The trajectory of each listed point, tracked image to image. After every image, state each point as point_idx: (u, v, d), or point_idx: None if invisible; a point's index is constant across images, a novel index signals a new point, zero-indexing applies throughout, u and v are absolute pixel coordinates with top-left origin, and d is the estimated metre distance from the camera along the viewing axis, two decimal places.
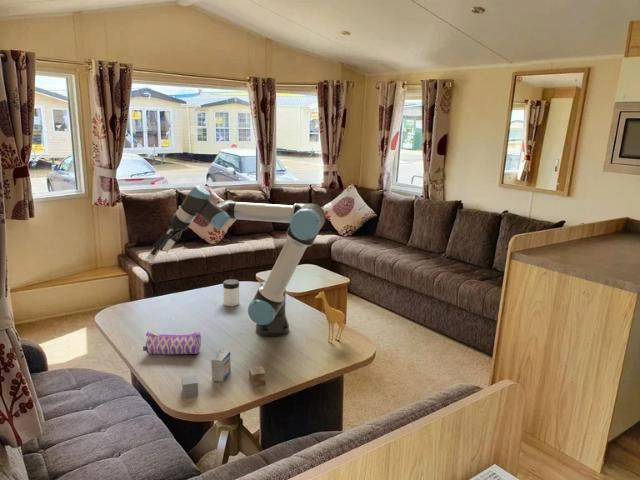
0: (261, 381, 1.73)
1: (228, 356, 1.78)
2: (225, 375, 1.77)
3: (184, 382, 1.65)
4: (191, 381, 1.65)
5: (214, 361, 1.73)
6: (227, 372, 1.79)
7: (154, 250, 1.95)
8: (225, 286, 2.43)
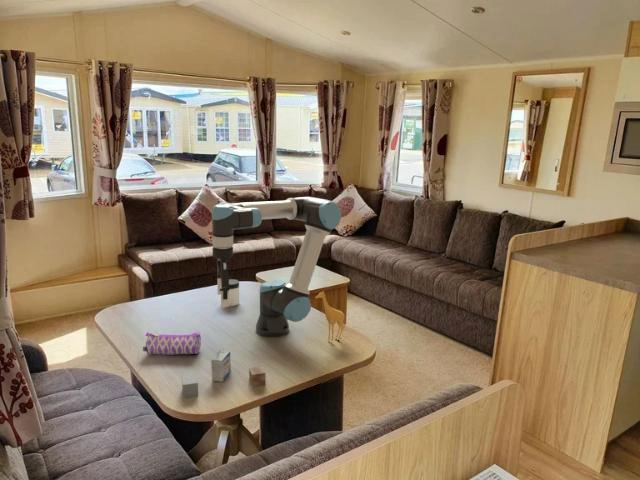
0: (261, 381, 1.73)
1: (228, 356, 1.78)
2: (225, 375, 1.77)
3: (184, 382, 1.65)
4: (191, 381, 1.65)
5: (214, 361, 1.73)
6: (227, 372, 1.79)
7: (225, 293, 1.72)
8: None
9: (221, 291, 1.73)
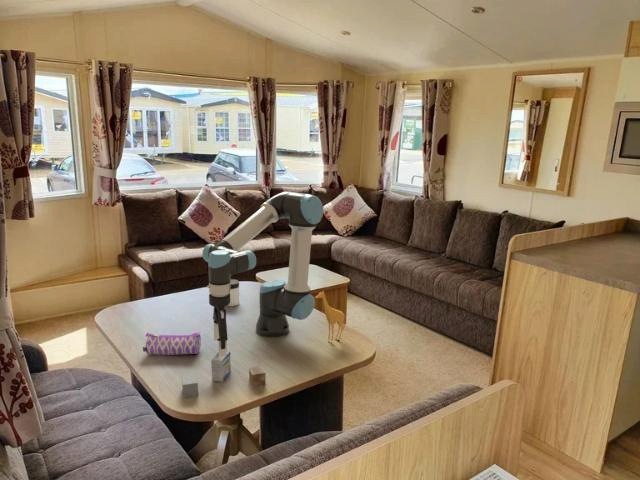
0: (261, 381, 1.73)
1: (228, 356, 1.78)
2: (225, 375, 1.77)
3: (184, 382, 1.65)
4: (191, 381, 1.65)
5: (214, 361, 1.73)
6: (227, 372, 1.79)
7: (223, 343, 1.67)
8: None
9: (219, 341, 1.67)
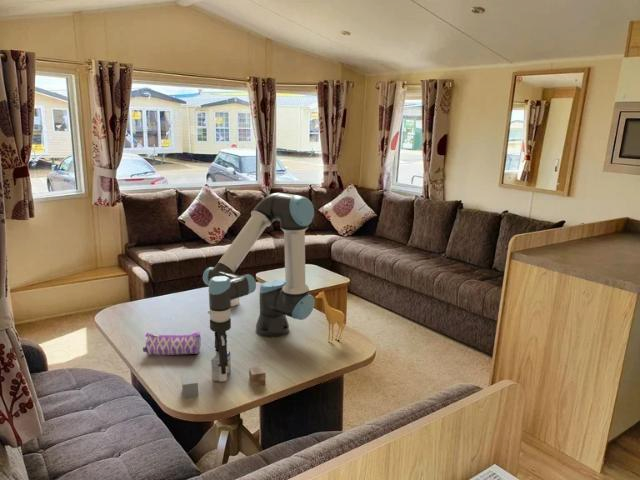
0: (261, 381, 1.73)
1: (228, 356, 1.78)
2: None
3: (184, 382, 1.65)
4: (191, 381, 1.65)
5: (214, 361, 1.73)
6: (227, 372, 1.78)
7: (223, 368, 1.72)
8: None
9: (219, 366, 1.72)
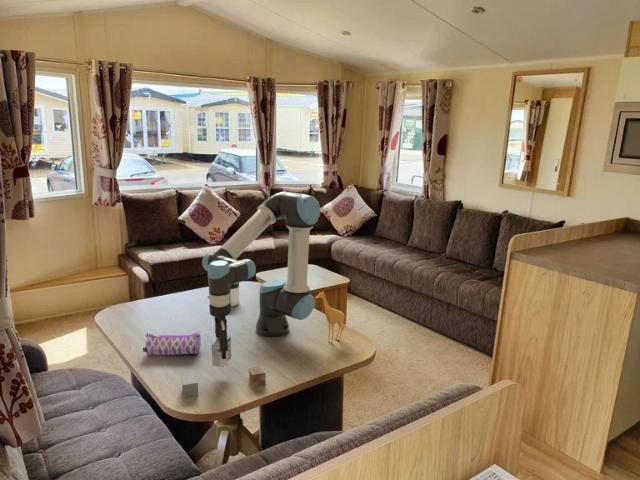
0: (261, 381, 1.73)
1: (228, 341, 1.77)
2: None
3: (184, 382, 1.65)
4: (191, 381, 1.65)
5: (214, 346, 1.72)
6: (228, 357, 1.77)
7: (223, 353, 1.70)
8: None
9: (219, 351, 1.71)
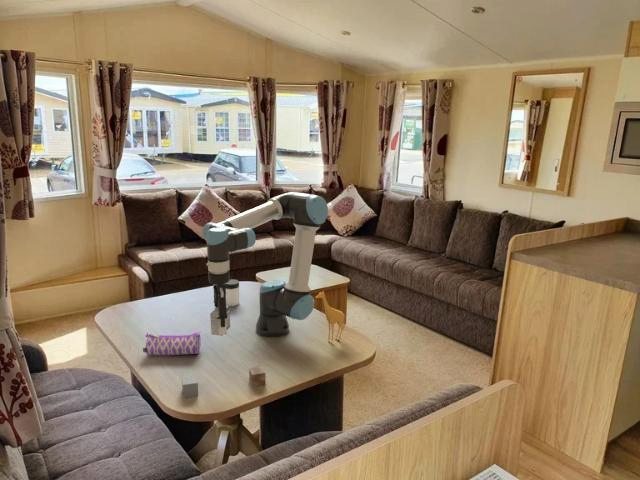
0: (261, 381, 1.73)
1: (227, 310, 1.75)
2: None
3: (184, 382, 1.65)
4: (191, 381, 1.65)
5: (213, 314, 1.70)
6: (226, 326, 1.76)
7: (222, 321, 1.69)
8: (225, 286, 2.43)
9: (218, 319, 1.69)
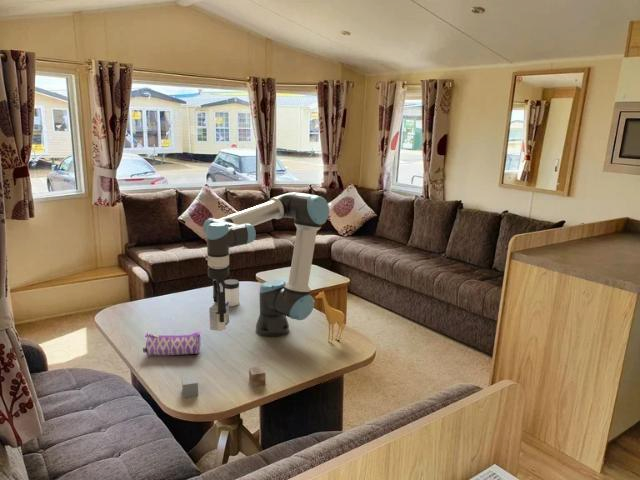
0: (261, 381, 1.73)
1: (226, 305, 1.75)
2: None
3: (184, 382, 1.65)
4: (191, 381, 1.65)
5: (212, 309, 1.70)
6: (225, 322, 1.76)
7: (221, 316, 1.69)
8: (225, 286, 2.43)
9: (217, 314, 1.69)
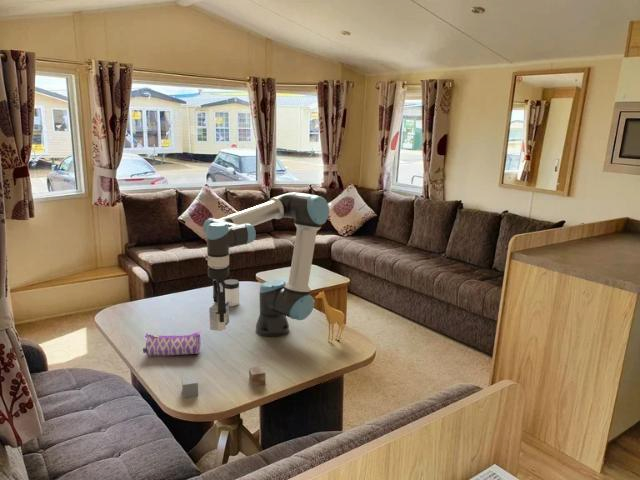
0: (261, 381, 1.73)
1: (226, 305, 1.75)
2: None
3: (184, 382, 1.65)
4: (191, 381, 1.65)
5: (212, 309, 1.70)
6: (225, 322, 1.76)
7: (221, 316, 1.69)
8: (225, 286, 2.43)
9: (217, 314, 1.69)
